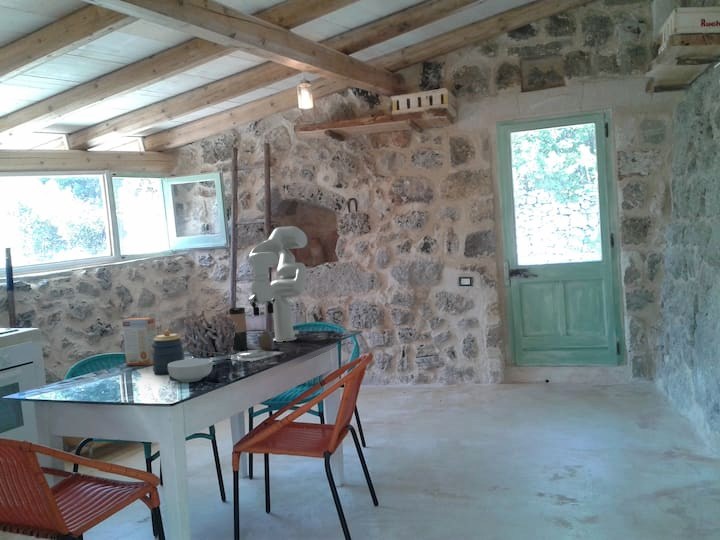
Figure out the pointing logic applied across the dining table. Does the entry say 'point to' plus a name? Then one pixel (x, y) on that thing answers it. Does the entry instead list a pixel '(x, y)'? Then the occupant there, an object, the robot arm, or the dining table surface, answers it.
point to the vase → (265, 341)
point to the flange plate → (253, 355)
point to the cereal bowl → (190, 369)
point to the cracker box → (139, 340)
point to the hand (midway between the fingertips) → (263, 314)
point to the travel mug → (239, 328)
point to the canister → (166, 351)
